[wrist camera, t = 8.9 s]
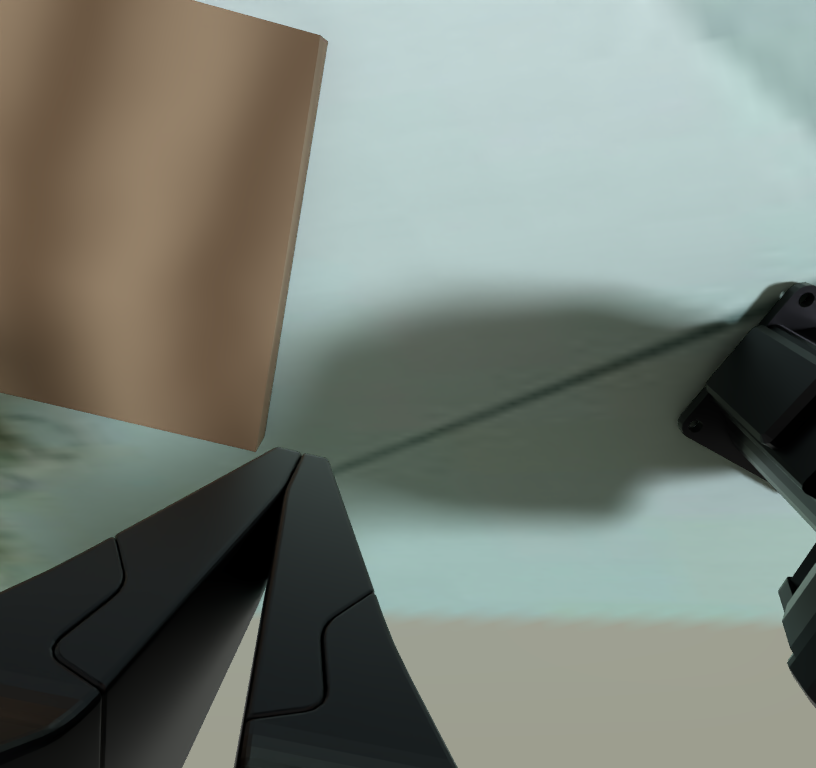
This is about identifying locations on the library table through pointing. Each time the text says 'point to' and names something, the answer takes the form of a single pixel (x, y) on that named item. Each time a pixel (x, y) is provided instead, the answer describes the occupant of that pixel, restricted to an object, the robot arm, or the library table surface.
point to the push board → (150, 207)
